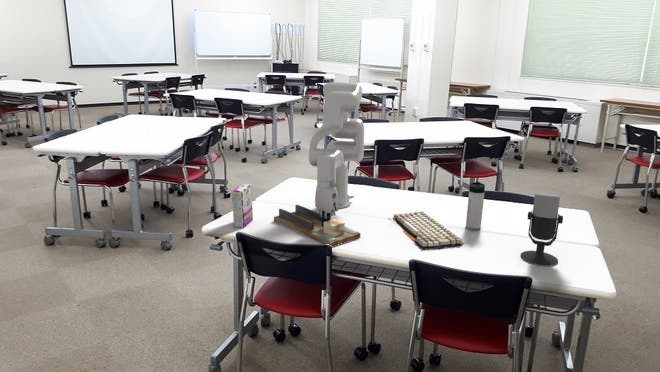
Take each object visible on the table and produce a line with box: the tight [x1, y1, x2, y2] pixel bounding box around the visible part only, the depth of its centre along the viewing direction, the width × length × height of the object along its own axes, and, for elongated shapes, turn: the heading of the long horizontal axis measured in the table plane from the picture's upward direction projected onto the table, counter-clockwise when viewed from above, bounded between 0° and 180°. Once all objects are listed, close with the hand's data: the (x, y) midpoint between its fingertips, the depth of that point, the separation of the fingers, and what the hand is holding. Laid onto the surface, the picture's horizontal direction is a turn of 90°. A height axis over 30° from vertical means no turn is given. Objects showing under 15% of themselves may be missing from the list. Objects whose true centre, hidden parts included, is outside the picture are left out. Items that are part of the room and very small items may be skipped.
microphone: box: [519, 192, 564, 267], centre depth 180 cm, size 13×13×25 cm
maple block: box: [324, 218, 346, 237], centre depth 199 cm, size 6×6×4 cm
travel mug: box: [465, 181, 486, 232], centre depth 211 cm, size 6×7×20 cm
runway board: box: [273, 204, 361, 247], centre depth 208 cm, size 16×38×5 cm, turn 41°
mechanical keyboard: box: [387, 210, 465, 251], centre depth 209 cm, size 38×19×3 cm, turn 16°
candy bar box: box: [231, 183, 254, 229], centre depth 212 cm, size 11×5×16 cm, turn 168°
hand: (325, 226), depth 203 cm, fingers closed
